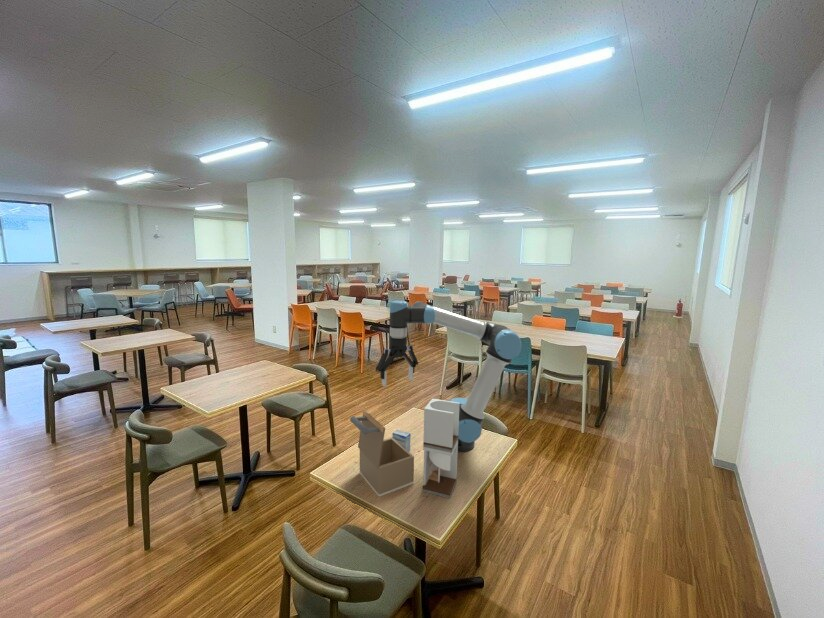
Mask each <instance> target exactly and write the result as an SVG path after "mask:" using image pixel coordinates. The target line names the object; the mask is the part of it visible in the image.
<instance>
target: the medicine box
mask: <svg viewBox="0 0 824 618" xmlns="http://www.w3.org/2000/svg"><path fill="white" fill-rule="evenodd" d="M411 434H412V433H411V432H410V433H409V432H407V431H403V430H399V429H396V430H394V431H393V432H392V437H391V438H394V439H395V440H396V441H397V442H398V443H399V444H400V445H401V446H403V447H404V448H405V449H406V450H407V451H408V452H410V451H411V437H412V435H411Z"/></svg>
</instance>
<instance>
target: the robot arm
mask: <svg viewBox="0 0 824 618" xmlns="http://www.w3.org/2000/svg"><path fill="white" fill-rule="evenodd" d="M389 306H390V307H389V348H383V349H382V354H381V357H380V359H379V360H378V364H377V366H376V368H375V370H376V371H378V372H380V379H381V385H382V386H383V387H387V375H388V374H387V371H386V370H387V369H388V367H390V364H391V363H392V362H393V361H394V360H395V359H398V358H404V359H405V361H407V363H408V364H409V365H408V372H407V373H408V375H407V376H408V377H407V378H408V381H410V382H413V380H414V373H415V368H416V367H417V366H418V365H419V361H418V359H417V356H416V355H415V352H414V350H413V349H414V348H413V345H410V344H408V342H407V341H408V338H407V336H408V324H426V325H427V324H435V325H438V326H442V327H445V328H448V329H451V330H454V331H457V332H460V333H462V334H466V335H469V336H471V337H475V338H477V340H478V341H481V342H483V343H485V344H486V345H488V346H487V348H486V351H485V354H486V359H485V361H484V363H483V365H482V367H481V370H480V372H479V373H478V376H477V378H476V380H475V382H474V384H473V387H472V389H471V391H470V393H469V396H468V398H467V397H455V398H454V397H453V398H451V399H450V400H449V401H452V402H458V403H460V404H459V429H458V452H467V451H470V450H473V449H474V447H475V441H477V440H478V439H479V438H480V437H481V435H482V431H483V429H482V424H483V422H484V420H485V413H484V411H485V409H486V407H487V406H488V405H487V404H488V403H489V401H490V398H491V396H492V394H493V392H494V390H495V389H496V386H497V384H498V382H499V379H500V377H501V375H502V373H503V371H504V369H505V366H508V365H509V364H511V362H512V360H513V359H514V358H516V357H518V355H519V354H520V353H521V351H522V348H523V347H522V340H521V338H520V336H519V335H518V334H517V333H516V332H515V331H513V330H511V329H510V328H508V327H507V326H505V325H502V324H499V323H493V322H489V321H486V320H483V321H479V320H477V319H473V318H471V317H467V316H465V315H461V314H457V313H455V312H451V311H449V310H445V309H444V308H443V309H442V308H439V307H436V306H434V305H431V304H428V303H425V302H423V301H416V302H414V303H413V304H412V305H409V304H408V301H405V300H393V301H391V302H390V304H389ZM407 344H408V345H407ZM407 351H408V354H409V355H408V354H407V353H406V352H407ZM409 356H410V357H409Z"/></svg>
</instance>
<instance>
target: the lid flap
mask: <svg viewBox="0 0 824 618" xmlns="http://www.w3.org/2000/svg"><path fill="white" fill-rule="evenodd" d="M349 420H350V422H351V423H352V424H353V425H354V426H355V427H356V428H357V429H358V430H359V438H358V445H357V448H358V449H359V451H360V450H361V451H362V452H363V453H364V454H365V456H366V457H367V458H368V459H369V460H370V461H371V462H372V463H373V464H374V466H375V467H376V468H377V469H378V468H379V466H380V459H381V453H382V446H383V440H385V433H386V427H385V426H384V425H382V424H381V423H380V422H379V421H378V420H377V419H376V418H374V417H373V416H372V415H371V414H370V413H369V412H368V411H366V410H363V411H362V416H354V415H352V416H351V417H350V419H349Z"/></svg>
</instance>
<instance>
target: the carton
mask: <svg viewBox="0 0 824 618" xmlns="http://www.w3.org/2000/svg"><path fill="white" fill-rule="evenodd" d="M414 465H415V456H414V455H413V454H411V452H410V451H407V450H406V449H405V448H404V447H403V446H401V445H400V444H399V443H398V442H397V441H396V440H395V439H394V438H392V437H388V438H386V439H385V438H384V440H383V446H382V453H381V459H380V466H379V468H378V469H377V468H376V467H375V466H374V464H373V463H372V462H371V461H370V460H369V459H368V458H367V457H366V456H365V454H364V453H363V452H362V451H361V450H360V449H359V474H360V476H361V477H362V478H363V480H365V481H366V482H367V484H368V485H369V486H370V488H371V489H372V490H373V491H374V493H375V494H376V495H377V497H378V498H379V497H383V496H384V495H385V496H386V495H388V494H390V493H393V492H395V491H398V490H401V489H403V488H406V487H407V486H411V485H414V479H415V477H414V476H415V475H414V473H415V471H414V470H415V466H414Z"/></svg>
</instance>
